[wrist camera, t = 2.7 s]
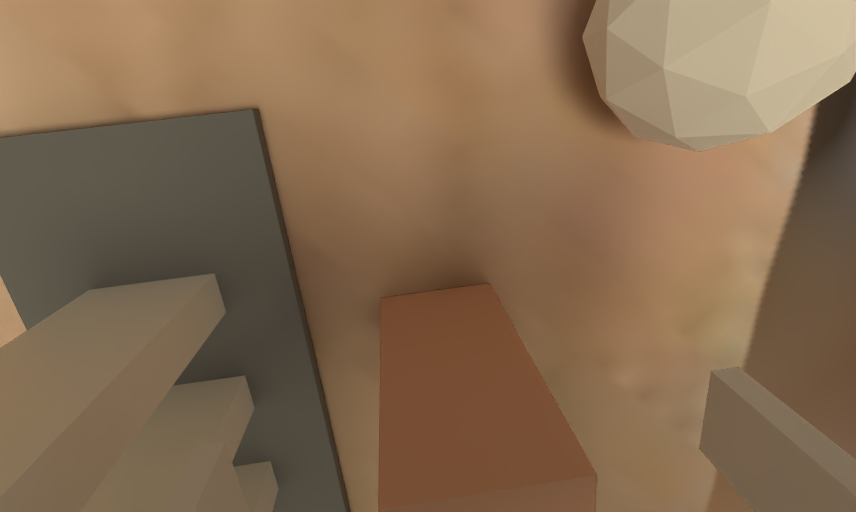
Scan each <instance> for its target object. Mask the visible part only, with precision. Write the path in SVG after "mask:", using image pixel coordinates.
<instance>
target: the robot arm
mask: <svg viewBox="0 0 856 512" xmlns="http://www.w3.org/2000/svg"><path fill="white" fill-rule="evenodd" d="M699 449H700V450H701V451H702V452H703V453H704V455H705V456H706V457H707V458H708V459H709V460H710V461H711V463H712V464H713V465H714V466H715V467H716V468H717V469H718V471H719V472H720V473H721V474H722V475H723V476H724V477H725V479H726V480H727V481H728V482H729V483H730V484H731V485H732V487H733V488H734V489H735V490H736V491H737V492H738V493H739V495H740V496H741V497H742V498H743V499H744V500H745V501H746V503H747V504H748V505H749V506H750V507H751V508H752V509H753V511H754V512H856V460H855V459H854V458H853V457H852V456H850V455H849V454H848V453H846V452H845V451H844V450H843V449H841V448H840V447H839V446H837V445H836V444H835V443H834V442H832V441H831V440H830V439H829V438H827V437H826V436H825V435H824V434H822V433H821V432H820V431H819V430H817V429H816V428H815V427H813V426H812V425H811V424H810V423H808V422H807V421H806V420H805V419H803V418H802V417H801V416H799V415H798V414H797V413H796V412H794V411H793V410H792V409H791V408H789V407H788V406H787V405H786V404H784V403H783V402H782V401H781V400H779V399H778V398H777V397H775V396H774V395H773V394H772V393H770V392H769V391H768V390H767V389H765V388H764V387H763V386H762V385H760V384H759V383H757V382H756V381H755V380H754V379H752V378H751V377H750V376H749V375H748V374H746V373H745V372H744V371H743V370H741V369H740V368H739V367H734V368H727V369H720V370H713V371H711V375H710V381H709V388H708V394H707V401H706V408H705V414H704V421H703V427H702V434H701V440H700V447H699ZM161 512H249V510H248V507H247V504H246V501H245V498H244V495H243V492H242V489H241V487H240V484H239V481H238V478H237V475H236V472H235V469H234V467H233V464H232V461H231V458H230V455H229V452H228V449H227V446H226V444H225V442H223V443H216V444H210V445H203V446H196V447H195V448H194V450H193V451H192V453H191V455H190V457H189V459H188V461H187V463H186V465H185V467H184V468H183V470H182V472H181V474H180V476H179V478H178V480H177V482H176V483H175V485H174V487H173V489H172V491H171V493H170V495H169V497H168V498H167V500H166V502H165V504H164V506H163V508H162V510H161Z"/></svg>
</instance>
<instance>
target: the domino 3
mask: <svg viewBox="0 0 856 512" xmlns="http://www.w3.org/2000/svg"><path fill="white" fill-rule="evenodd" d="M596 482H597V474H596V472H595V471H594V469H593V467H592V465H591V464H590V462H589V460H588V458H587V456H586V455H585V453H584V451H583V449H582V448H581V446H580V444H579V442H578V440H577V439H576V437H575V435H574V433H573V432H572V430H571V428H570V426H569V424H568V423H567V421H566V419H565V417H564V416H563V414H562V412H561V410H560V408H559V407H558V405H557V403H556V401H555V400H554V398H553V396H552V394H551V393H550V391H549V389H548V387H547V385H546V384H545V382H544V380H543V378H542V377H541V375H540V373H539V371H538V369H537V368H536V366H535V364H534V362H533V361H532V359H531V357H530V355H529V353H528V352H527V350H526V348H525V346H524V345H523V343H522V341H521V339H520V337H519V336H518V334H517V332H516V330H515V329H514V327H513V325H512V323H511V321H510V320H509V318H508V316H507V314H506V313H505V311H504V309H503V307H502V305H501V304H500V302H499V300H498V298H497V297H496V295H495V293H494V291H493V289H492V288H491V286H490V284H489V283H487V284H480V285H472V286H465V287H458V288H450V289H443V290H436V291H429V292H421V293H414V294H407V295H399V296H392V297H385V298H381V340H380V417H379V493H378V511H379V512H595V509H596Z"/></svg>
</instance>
